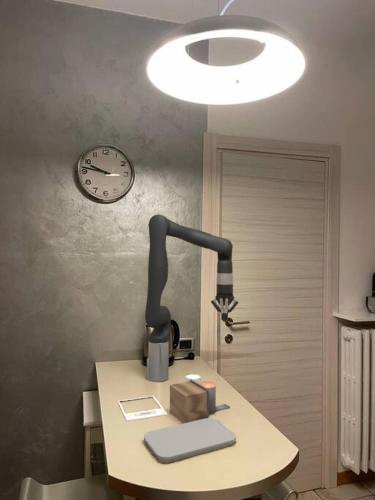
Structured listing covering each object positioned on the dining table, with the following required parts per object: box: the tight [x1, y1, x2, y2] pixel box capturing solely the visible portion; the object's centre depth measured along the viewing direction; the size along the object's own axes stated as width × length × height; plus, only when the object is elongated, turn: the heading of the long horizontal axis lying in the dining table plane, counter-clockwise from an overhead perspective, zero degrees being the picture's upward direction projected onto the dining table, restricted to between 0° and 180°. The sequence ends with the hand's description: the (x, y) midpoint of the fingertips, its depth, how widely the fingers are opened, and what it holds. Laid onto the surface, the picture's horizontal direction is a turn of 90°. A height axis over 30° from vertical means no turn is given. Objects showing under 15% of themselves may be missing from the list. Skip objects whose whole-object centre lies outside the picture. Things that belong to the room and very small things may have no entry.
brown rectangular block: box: [169, 379, 231, 424], centre depth 135 cm, size 21×12×11 cm, turn 119°
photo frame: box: [116, 395, 168, 423], centre depth 138 cm, size 15×1×18 cm
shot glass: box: [184, 373, 202, 384], centre depth 153 cm, size 7×7×7 cm
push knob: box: [199, 380, 217, 414], centre depth 136 cm, size 6×6×9 cm
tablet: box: [143, 417, 237, 464], centre depth 114 cm, size 16×26×2 cm, turn 117°
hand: (224, 321), depth 168 cm, fingers closed
